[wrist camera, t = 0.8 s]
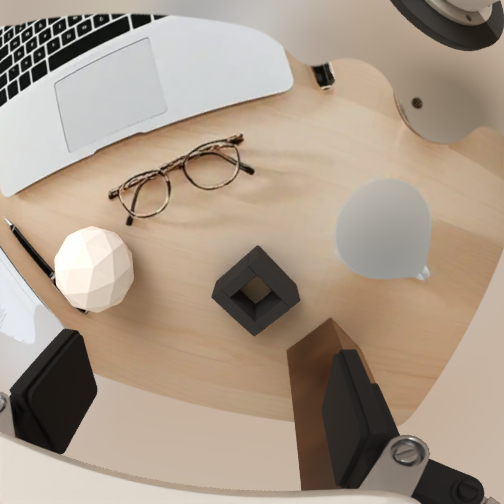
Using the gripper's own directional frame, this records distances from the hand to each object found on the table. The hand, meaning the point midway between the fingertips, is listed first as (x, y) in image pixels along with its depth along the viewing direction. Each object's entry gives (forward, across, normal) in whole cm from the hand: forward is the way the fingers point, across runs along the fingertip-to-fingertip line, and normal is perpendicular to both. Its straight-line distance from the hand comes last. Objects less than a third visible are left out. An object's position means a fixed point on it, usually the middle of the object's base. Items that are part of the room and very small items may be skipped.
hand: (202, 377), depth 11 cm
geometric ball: (+20, +13, +3) cm, 24 cm away
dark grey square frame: (+20, -2, +5) cm, 20 cm away
